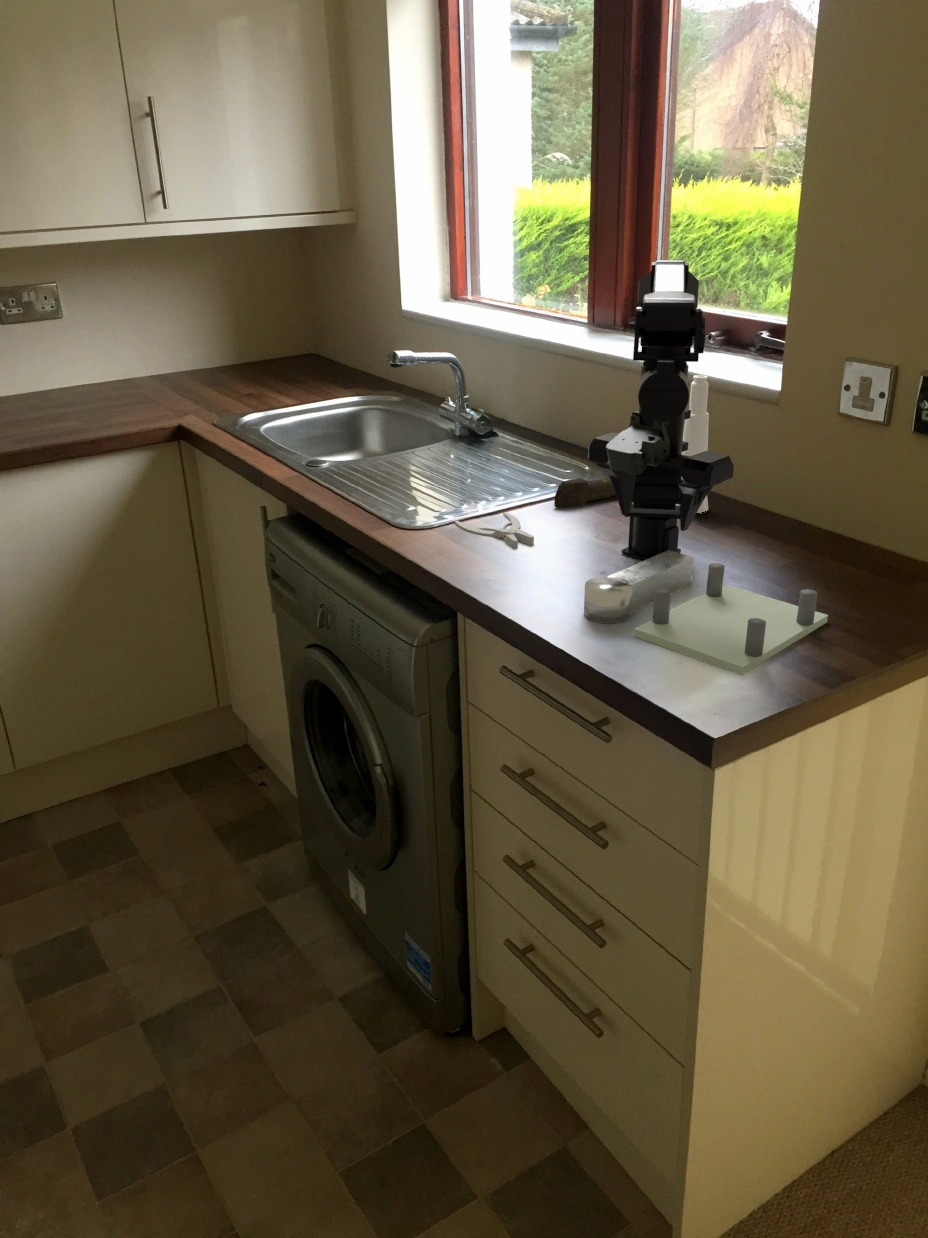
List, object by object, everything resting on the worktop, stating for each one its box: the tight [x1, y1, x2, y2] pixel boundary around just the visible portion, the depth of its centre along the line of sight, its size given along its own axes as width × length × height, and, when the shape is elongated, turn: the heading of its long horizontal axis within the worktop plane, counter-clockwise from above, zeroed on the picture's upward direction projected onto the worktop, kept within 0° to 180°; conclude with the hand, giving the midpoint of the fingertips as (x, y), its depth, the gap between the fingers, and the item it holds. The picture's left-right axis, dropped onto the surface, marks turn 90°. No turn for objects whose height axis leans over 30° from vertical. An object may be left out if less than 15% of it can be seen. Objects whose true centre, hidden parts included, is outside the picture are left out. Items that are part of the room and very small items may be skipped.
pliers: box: [454, 512, 535, 549], centre depth 160 cm, size 10×2×15 cm
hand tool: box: [553, 477, 617, 509], centre depth 175 cm, size 19×4×5 cm, turn 118°
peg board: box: [633, 562, 829, 676], centre depth 125 cm, size 15×20×5 cm
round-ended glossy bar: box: [583, 550, 694, 625], centre depth 134 cm, size 6×19×4 cm, turn 135°
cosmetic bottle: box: [676, 374, 710, 514], centre depth 165 cm, size 6×6×22 cm
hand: (654, 522), depth 132 cm, fingers open, 9 cm apart
